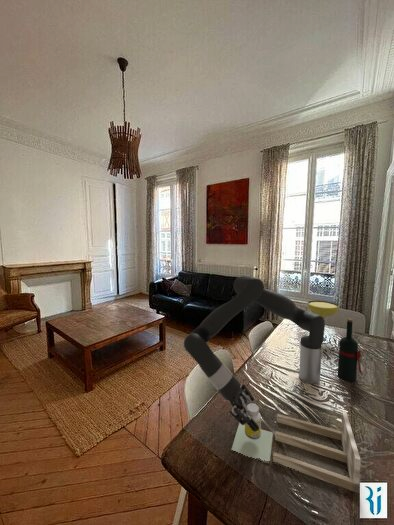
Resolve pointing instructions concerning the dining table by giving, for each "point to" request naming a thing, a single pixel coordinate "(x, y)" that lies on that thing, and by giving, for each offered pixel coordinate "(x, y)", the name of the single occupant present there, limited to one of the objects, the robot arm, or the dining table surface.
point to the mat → (253, 444)
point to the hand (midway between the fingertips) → (258, 422)
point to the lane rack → (322, 451)
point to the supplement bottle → (256, 416)
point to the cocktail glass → (323, 308)
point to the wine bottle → (348, 356)
